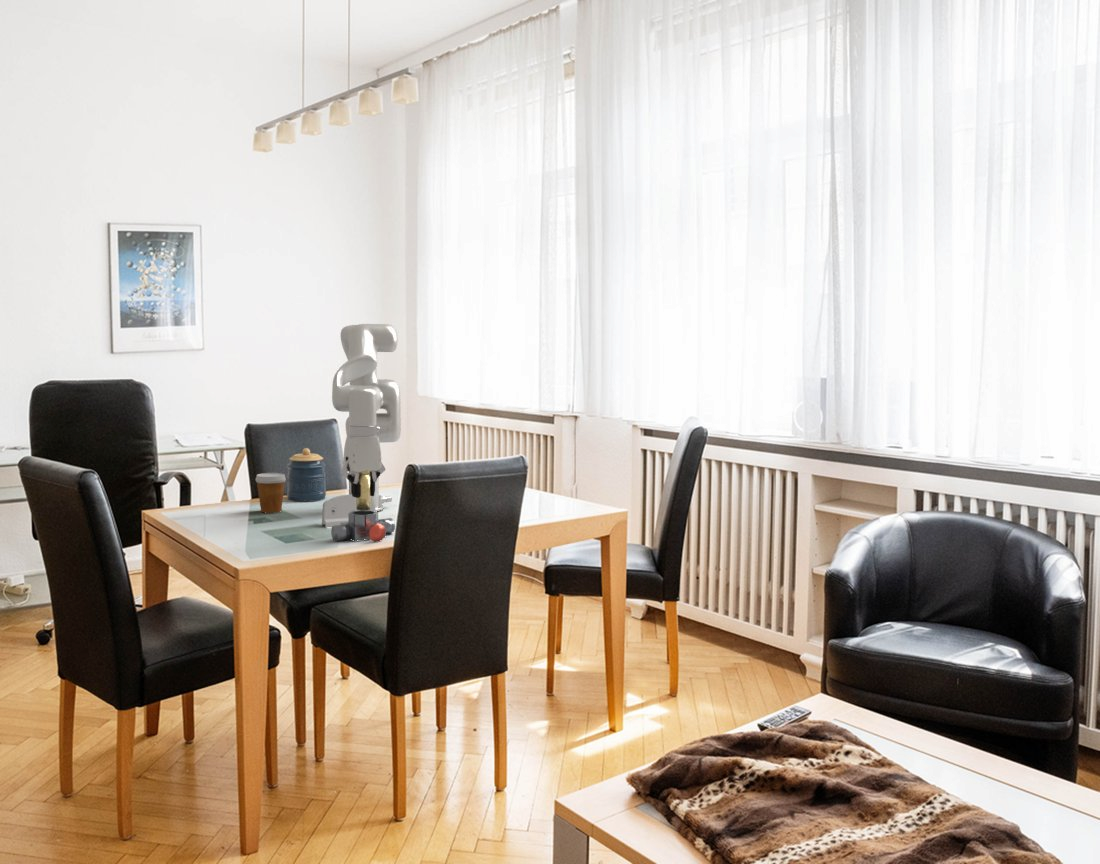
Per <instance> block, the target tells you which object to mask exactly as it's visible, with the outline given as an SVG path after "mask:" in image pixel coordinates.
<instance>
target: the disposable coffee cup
mask: <svg viewBox="0 0 1100 864" xmlns="http://www.w3.org/2000/svg"><path fill="white" fill-rule="evenodd" d="M285 475H286V474H285V473H282V472H280V473H279V472H266V473H265V472H263V473H258V474H256V477H255V479H254V480H255V482H256V485H257V492H258V499H259V507H260V512H261V513H262V512H266V513H265V514H267V513H273V514H275V513H274V512H279V513H281V512H282V509H283V508H282V507H283V500H284V492H285V491H284V490H285V483H286V480H287V478H286V476H285ZM280 511H281V512H280Z"/></svg>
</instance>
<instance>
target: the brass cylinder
mask: <svg viewBox="0 0 1100 864" xmlns="http://www.w3.org/2000/svg"><path fill="white" fill-rule="evenodd" d="M358 484H360V497H359V498H356V509H357V510H370V509H371V480H370V471H368V470H366V471H364V472H362V473H359V478H358Z"/></svg>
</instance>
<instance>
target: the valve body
mask: <svg viewBox="0 0 1100 864" xmlns="http://www.w3.org/2000/svg"><path fill="white" fill-rule="evenodd" d="M348 520H349V522H345V523H341V525H335V526H333V527H332V528H330V534H331V539H333V541H334V540H335V541H334V542H339V541H340V540H342V541H347V540H346V539H352V540H354V541H357V540H364V539H371V540H370V541H372V542H375V541H379V542H381V541H383V539H384V538H386V537H387V534H386V533H390V534H393V533H394V532H395V530H396V525H395V521H394V520H393V518H391V517H387V518H380V519H379V512H376V511H372V510H358V511H351V512H350V513H348ZM392 532H393V533H392ZM385 536H386V537H385ZM380 540H381V541H380ZM354 541H353V542H354ZM364 541H365V540H364ZM340 542H341V541H340ZM357 542H358V541H357Z"/></svg>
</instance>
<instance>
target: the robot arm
mask: <svg viewBox="0 0 1100 864" xmlns="http://www.w3.org/2000/svg"><path fill="white" fill-rule="evenodd" d="M398 338H399V337H398V332H397V329H396V327H395V326H394V325H392V324H388V323H361V324H350V325H346V326H344V327H343V328H341V331H340V341H341V342H340V343H341V346H342V349H343V352H344V354H345V356H346V358H347V361H346V362H344V363H343V364H342V365H341V366H340V367H339V368H338V369H337V370H336V373H334V376H333V380H332V387H331V389H332V390H331V391H332V392H331V393H332V394H331V399H332V400H331V402H332V406H333V409H334V410H336V411H338V412H343V413H344V412H346V413H347V412H348V414H349V415H348V417H347V418H346V420H345V432H346V437H345V438H346V439H345V443H344V447H343V459H342V460H343V461H342V462H343V463H342V464H343V465H342V468H341V470H340V471H339V474H340V475H341V476H343V477H344V478H346V479H347V480H348V495H352V496H353V497H356V498H359V497H360V484H358V478H359V473H362V472H364V471H366V470H368V471H370V480H371V498H372V499H373V501H374V505H375V509H376V511H379V510H382V509H383V508H384V507H385V506H384V505H383V504H384V503H391V502H392V501H393V498H392V496H391V495H388V496H382V495H381V494H380V492H379V491H380V490H379V488H380V487H379V486H380V485H379V477H380V476H381V474H383V473H385V471H386V467H385V466H384V464H383V462H382V450H381V444H380V443H395V442H397V441H399V439H400V437H401V432H402V431H401V430H402V427H401V424H402V423H401V419H402V418H401V417H402V416H401V415H402V414H401V411H402V410H401V391H400V386H399V383H398V382H397V381H396V380H394V379H386V378H385V379H379V378H378V377H377V367H378V353H393V352H395V351H396V349H397V346H398ZM348 383H349V385H346V384H348ZM379 410H385V411H386V412H383V413H382V412H377V411H379ZM383 510H384V509H383ZM383 510H382V511H383ZM379 512H380V511H379Z"/></svg>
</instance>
